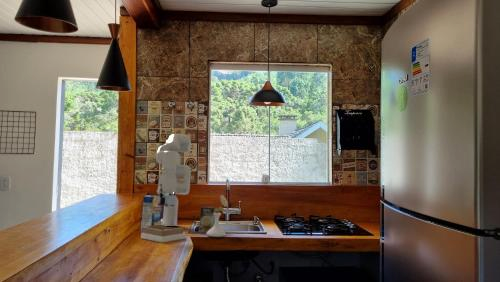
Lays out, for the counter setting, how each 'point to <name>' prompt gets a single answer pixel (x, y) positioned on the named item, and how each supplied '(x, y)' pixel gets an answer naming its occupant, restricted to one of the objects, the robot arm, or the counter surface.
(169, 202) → the tall pale blue box
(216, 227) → the flower in vase
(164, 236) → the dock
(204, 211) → the coffee box
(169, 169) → the robot arm
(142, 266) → the counter surface
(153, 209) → the beverage box
